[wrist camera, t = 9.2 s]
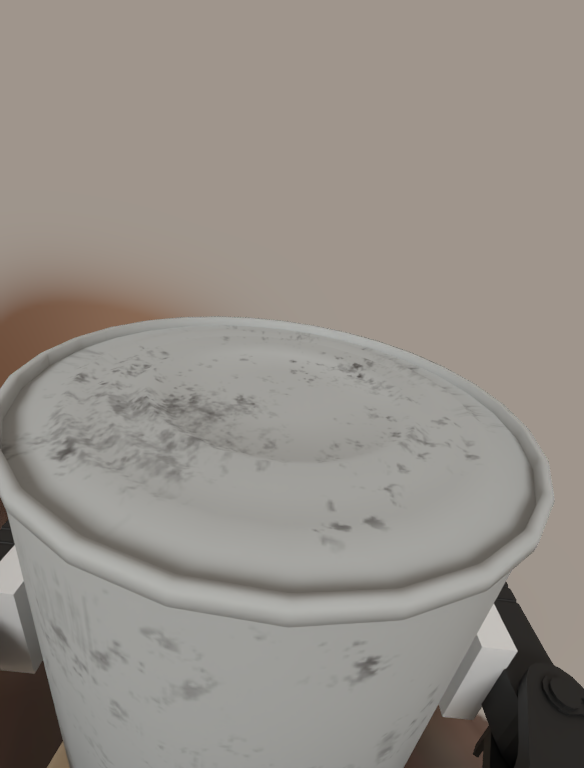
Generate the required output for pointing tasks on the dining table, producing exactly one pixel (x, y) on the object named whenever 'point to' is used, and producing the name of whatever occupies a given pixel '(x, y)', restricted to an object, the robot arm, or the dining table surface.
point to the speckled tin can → (257, 538)
